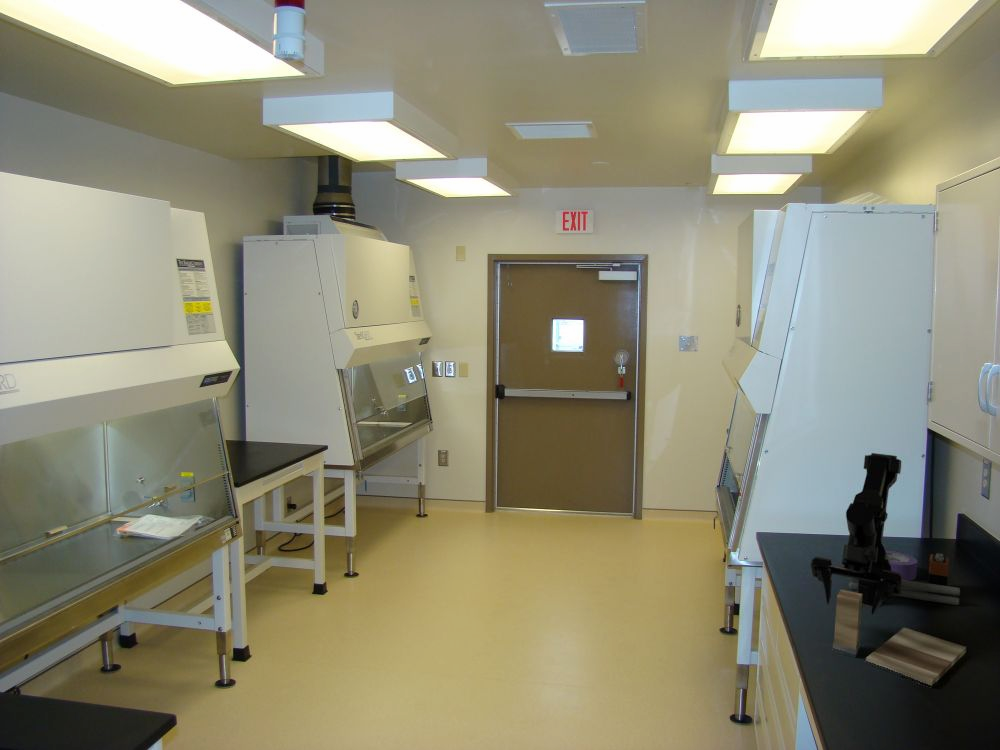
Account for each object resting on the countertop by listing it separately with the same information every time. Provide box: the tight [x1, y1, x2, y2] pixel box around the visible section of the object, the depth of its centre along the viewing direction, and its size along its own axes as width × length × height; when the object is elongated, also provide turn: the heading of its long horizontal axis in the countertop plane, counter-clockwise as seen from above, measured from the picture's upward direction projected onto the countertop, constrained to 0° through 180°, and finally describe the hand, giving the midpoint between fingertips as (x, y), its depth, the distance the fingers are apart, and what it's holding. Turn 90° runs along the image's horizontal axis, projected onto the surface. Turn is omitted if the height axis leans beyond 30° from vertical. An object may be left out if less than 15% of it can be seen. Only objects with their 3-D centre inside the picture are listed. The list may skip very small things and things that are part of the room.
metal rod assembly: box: [848, 577, 961, 606], centre depth 199 cm, size 26×3×5 cm, turn 67°
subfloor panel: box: [865, 627, 967, 686], centre depth 166 cm, size 22×13×2 cm, turn 133°
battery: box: [926, 552, 950, 596], centre depth 203 cm, size 4×7×10 cm, turn 149°
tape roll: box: [885, 549, 918, 581], centre depth 216 cm, size 12×12×5 cm
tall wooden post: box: [832, 589, 863, 655], centre depth 168 cm, size 5×5×13 cm
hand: (849, 608), depth 170 cm, fingers open, 9 cm apart
